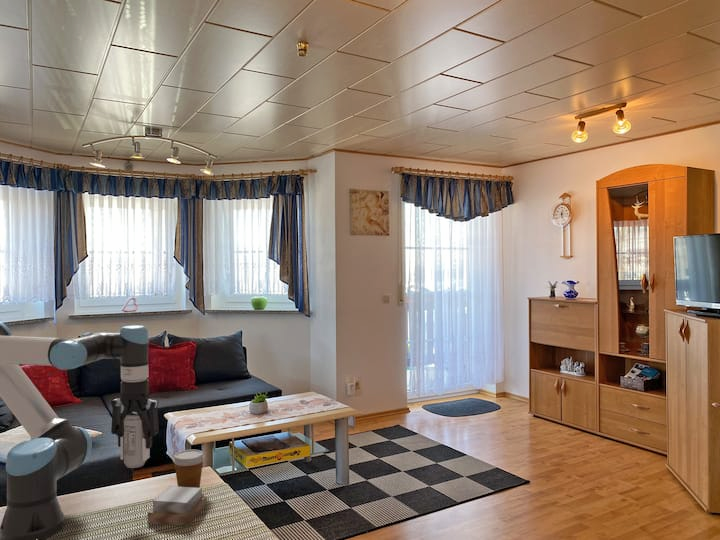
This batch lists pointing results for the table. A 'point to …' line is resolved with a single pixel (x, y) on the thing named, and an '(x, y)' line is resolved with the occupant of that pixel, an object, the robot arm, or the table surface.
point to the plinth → (177, 516)
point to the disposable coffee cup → (188, 468)
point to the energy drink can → (133, 441)
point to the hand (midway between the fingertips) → (135, 458)
